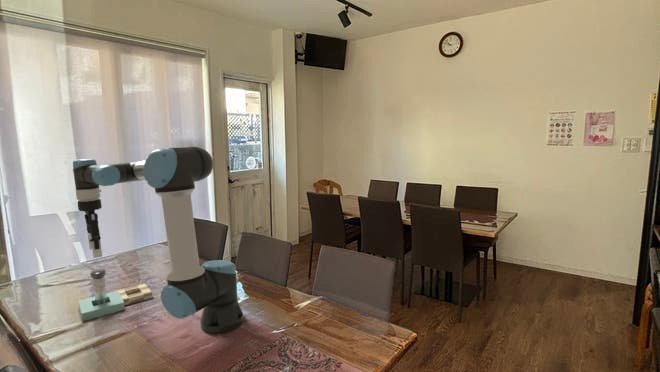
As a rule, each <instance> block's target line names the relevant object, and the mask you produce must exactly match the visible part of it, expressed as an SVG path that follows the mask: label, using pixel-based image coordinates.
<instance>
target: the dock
mask: <svg viewBox="0 0 660 372" xmlns="http://www.w3.org/2000/svg"><path fill="white" fill-rule="evenodd" d="M106 295H107V303H105V304H101V305H97V306H96V304H95V296H92V297H91V296H90V297H87V298H83V299H79V300H78V307H79V312H80V317H81V320H82V322H85V321H88V320H92V319H96V318H100V317H103V316H106V315H110V314H113V313H118V312H120V311H124V310H125V306H126V305H124V301H123V299H122V297H121V295H120V293H119V292H118V291H117V290H114V291H111V292H108V293H107V292H106Z"/></svg>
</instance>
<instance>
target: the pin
mask: <svg viewBox="0 0 660 372" xmlns="http://www.w3.org/2000/svg"><path fill="white" fill-rule="evenodd" d="M106 274H107V273H106V270H104V269H99V270H94V271H92V272H90V278H92V285H93V293H94V294H93V295H94V296H93V297H95V304H96V306H97V305H101V304H105V303H107V295H106V294H107V288H106V280H105V276H106Z"/></svg>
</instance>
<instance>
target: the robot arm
mask: <svg viewBox="0 0 660 372" xmlns="http://www.w3.org/2000/svg"><path fill="white" fill-rule="evenodd" d="M213 168H214V160H213V157H212V155H211V153H209V152H208V151H207V149H204V148H202V147H199V146H187V147H184V146H183V147H165V148H163V147H162V148H158V149H154V150H152V151H151V152H150V153H149V154H148V155H147V157H146V159H145V160H141V161H140V160H139V161H138V160H137V161H132V162H123V163H122V162H119V163H110V164H108V163H107V164H97V161H96V159H94V158H84V159H83V158H82V159H74V160H73V162H72V174H73V179H74V185H75V195H76V196H75V197H76V200H77V210H78V211H80V212H84V213H85V214H84V219H85V224H86V231H87V232H86V233H87V240H88V247H89V250H91V251H92V256H93V259H97V258H101V257H103V252H102V251H103V250H102V244H101V238H102V237H101V233H100V227H99V220H98V219H99V216H98V214H97V213H98V212H96V211H97V210H98V211H99V210H101V209H102V206H103V205H102V200H101V199H100V198H101V193H102V189H100V186H101V187H109V186H111V187H112V186H115V185H117V184H123V183H129V182H130V183H131V182H139V181H140V182H141V181H146V183H147V185H149V186H150V187H151V188H153V189H154V190H155V194H156V195H157V196H158V197H160V198H161V203H162V210H163V211H162V213H163V219H164V226H165V234H166V241H167V248H168V256H169V257H168V258H169V263H170V272H169V273H168V275H167V276H166V281H167V285H165V286H164V287H163V288H162V289H161V291H160V300H161V303H162V305H163V308H164V309H165V310H166V311H167V312H168V314H169V315H171V316H172V317H174V318H175V319H178V320H179V319H180V320H181V319H182V320H183V319H186V318H187V317H190V316H193V315H195V314H196V313H198V312H199V311H202V313H201V317H200V329H201V330H202V331H203V332H205V333H208V334H224V333H228V332H230V331H231V332H232V331H234V330H236V329H237V328H238V327H240V326H241V325H242V324H243V323H244V311H243V310H242V307H241V305H240V302H239V300H238V287H237V286H238V283H237V271H236V270H237V268H236V265H235V263H234V262H232V261H230V260H226V259H225V260H224V259H217V260H215V259H214V260H213V259H212V260H209V261H205V262H203V263H202V264H201V265H200V259H199V251H198V242H197V235H196V229H195V219H194V218H195V217H194V212H193V211H194V210H193V203H192V193H193V191H195V190H196V185H195V183H196V182H198V181H199V182H200V181H203V180H205V179H206V178H207V177H209V176H210V175H211V174H212V172H213Z"/></svg>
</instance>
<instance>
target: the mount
mask: <svg viewBox="0 0 660 372" xmlns="http://www.w3.org/2000/svg"><path fill="white" fill-rule="evenodd" d="M116 291H118V292H119V293H120V295H121V297H122V299H123V301H124V306H127V305H131V304H134V303H138V302H141V301H145V300H149V299H152V298H153V292H152V291H151V289H150V288H149V286H148V285H147V283H141V284H137V285H133V286H129V287H125V288H120V289H117V290H116Z"/></svg>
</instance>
